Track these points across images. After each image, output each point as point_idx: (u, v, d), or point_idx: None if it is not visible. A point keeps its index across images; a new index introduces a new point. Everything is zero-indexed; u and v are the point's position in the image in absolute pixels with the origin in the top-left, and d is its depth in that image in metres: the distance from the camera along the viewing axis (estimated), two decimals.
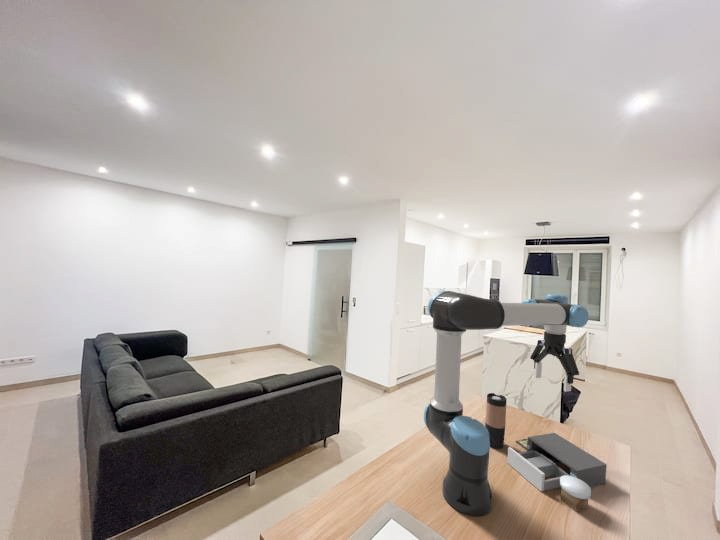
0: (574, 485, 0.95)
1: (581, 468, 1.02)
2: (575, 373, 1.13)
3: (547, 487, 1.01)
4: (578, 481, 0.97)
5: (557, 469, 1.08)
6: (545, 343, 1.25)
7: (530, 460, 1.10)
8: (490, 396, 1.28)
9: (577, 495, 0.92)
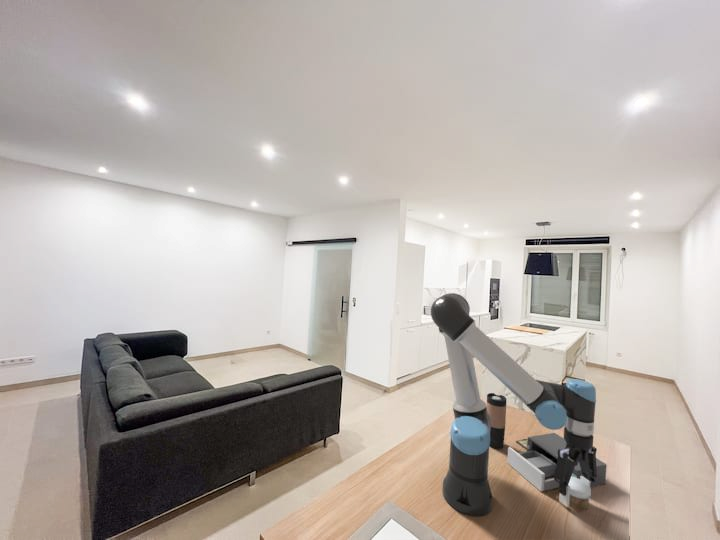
0: (574, 485, 0.95)
1: None
2: (555, 479, 0.94)
3: (547, 487, 1.01)
4: (578, 481, 0.97)
5: None
6: None
7: (530, 460, 1.10)
8: (490, 396, 1.28)
9: (577, 495, 0.92)
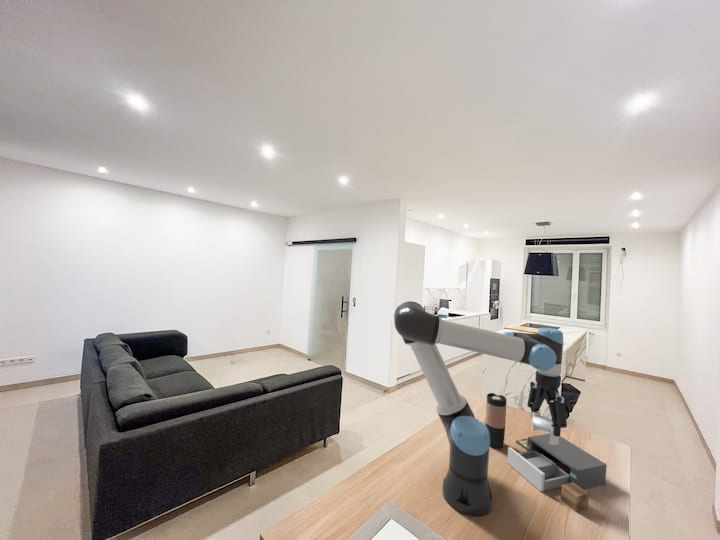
0: (547, 422, 1.05)
1: (581, 468, 1.02)
2: (561, 426, 0.98)
3: (547, 487, 1.01)
4: (539, 418, 1.08)
5: (557, 469, 1.08)
6: (537, 384, 1.09)
7: (530, 460, 1.10)
8: (490, 396, 1.28)
9: None
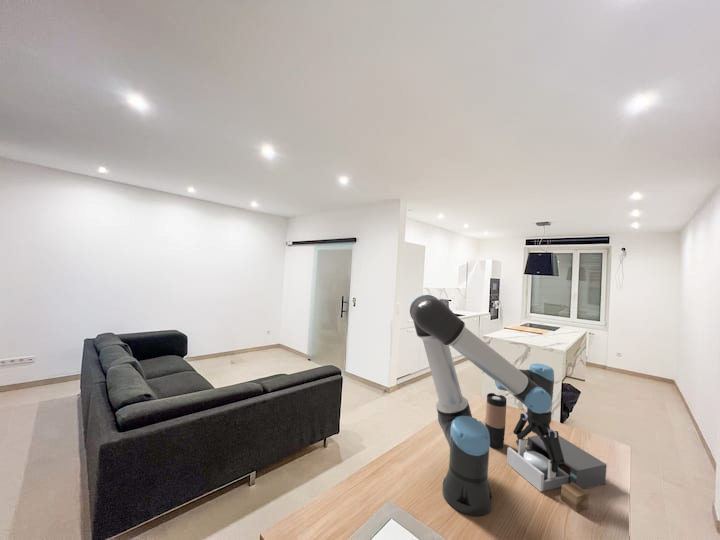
0: (538, 459, 1.08)
1: (581, 468, 1.02)
2: (560, 462, 0.99)
3: (546, 487, 1.01)
4: (529, 454, 1.11)
5: None
6: (528, 418, 1.11)
7: None
8: (490, 396, 1.28)
9: None
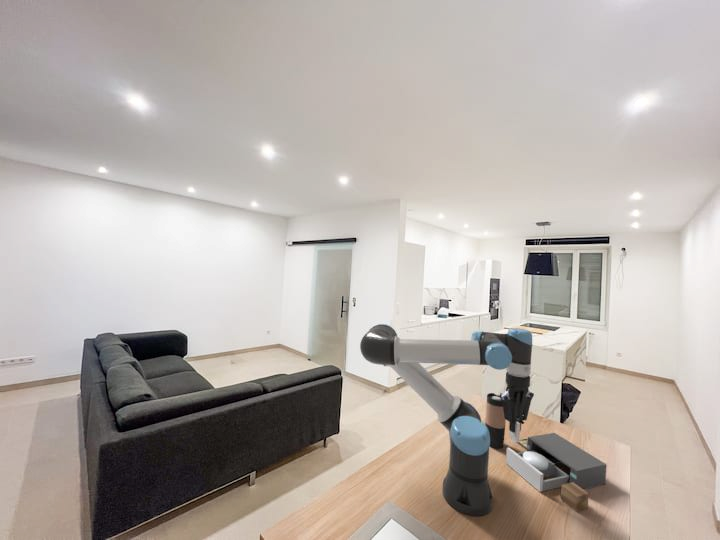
0: (537, 459, 1.08)
1: (581, 468, 1.02)
2: (506, 418, 1.05)
3: (546, 487, 1.01)
4: (528, 454, 1.11)
5: (556, 469, 1.07)
6: None
7: None
8: (490, 396, 1.28)
9: None
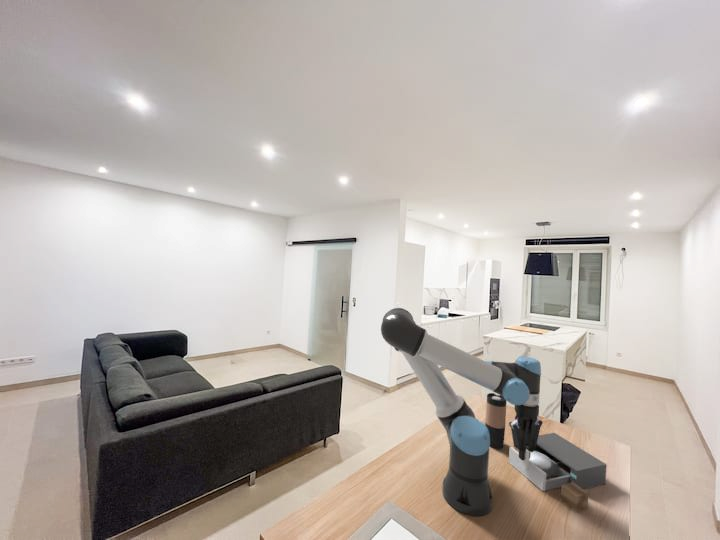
0: (540, 458, 1.08)
1: (581, 468, 1.02)
2: (515, 446, 1.06)
3: (549, 486, 1.01)
4: (531, 454, 1.11)
5: (558, 469, 1.08)
6: None
7: None
8: (490, 396, 1.28)
9: None
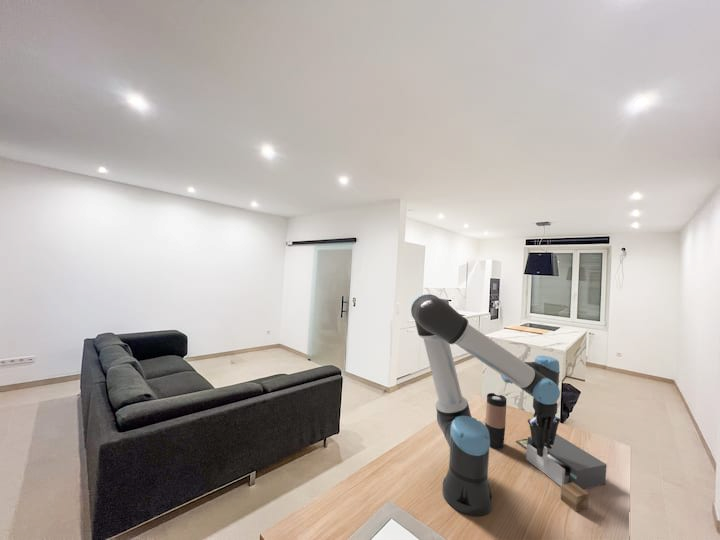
0: None
1: (581, 468, 1.02)
2: (533, 443, 1.09)
3: (567, 482, 1.03)
4: None
5: None
6: None
7: None
8: (490, 396, 1.28)
9: None
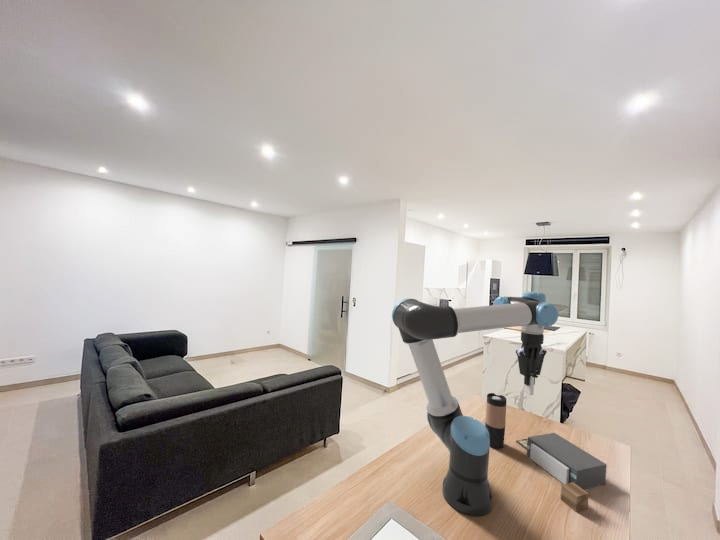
0: None
1: (581, 468, 1.02)
2: (521, 373, 1.15)
3: None
4: None
5: None
6: None
7: None
8: (490, 396, 1.28)
9: None
